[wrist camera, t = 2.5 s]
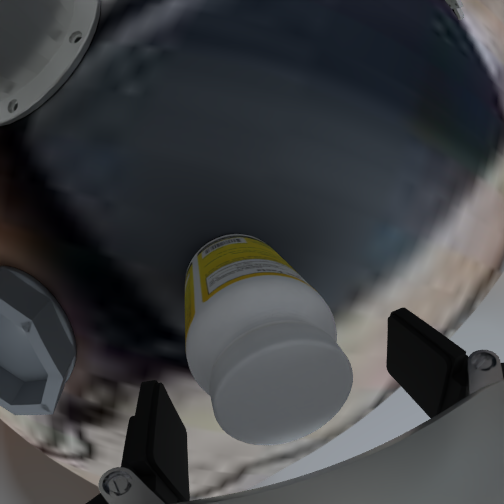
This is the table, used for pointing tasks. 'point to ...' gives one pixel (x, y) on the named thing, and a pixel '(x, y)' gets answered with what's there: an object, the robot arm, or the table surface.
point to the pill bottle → (261, 343)
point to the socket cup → (32, 345)
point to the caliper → (456, 7)
